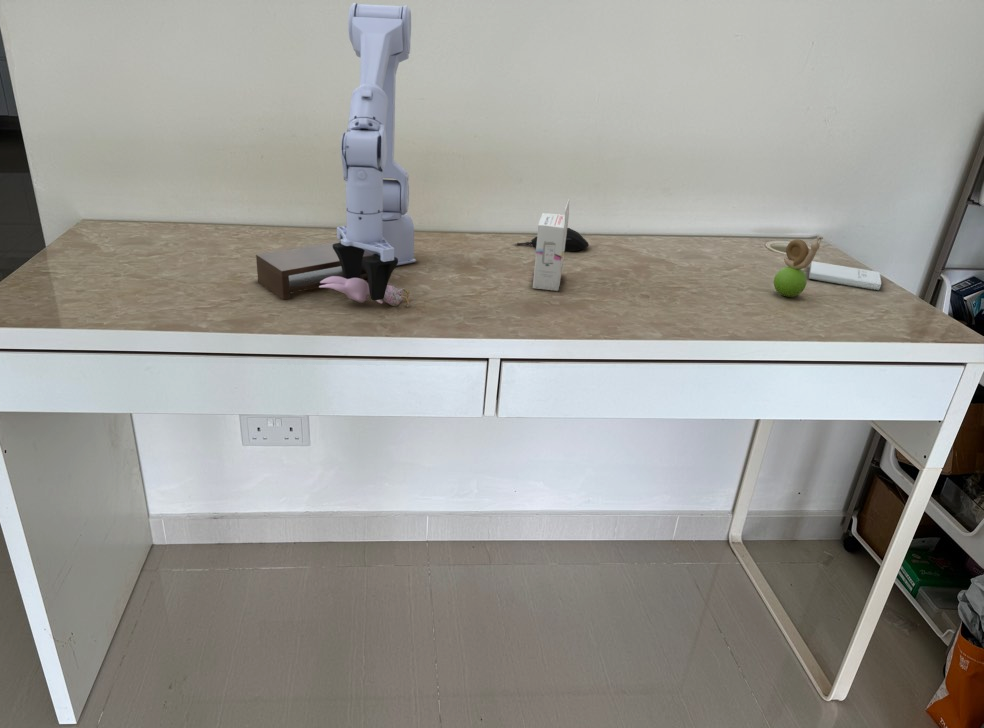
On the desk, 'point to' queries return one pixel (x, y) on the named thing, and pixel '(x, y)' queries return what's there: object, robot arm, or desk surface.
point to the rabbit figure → (363, 290)
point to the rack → (300, 268)
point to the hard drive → (845, 275)
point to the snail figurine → (795, 268)
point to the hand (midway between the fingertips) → (364, 292)
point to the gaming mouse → (567, 241)
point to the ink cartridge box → (550, 250)
